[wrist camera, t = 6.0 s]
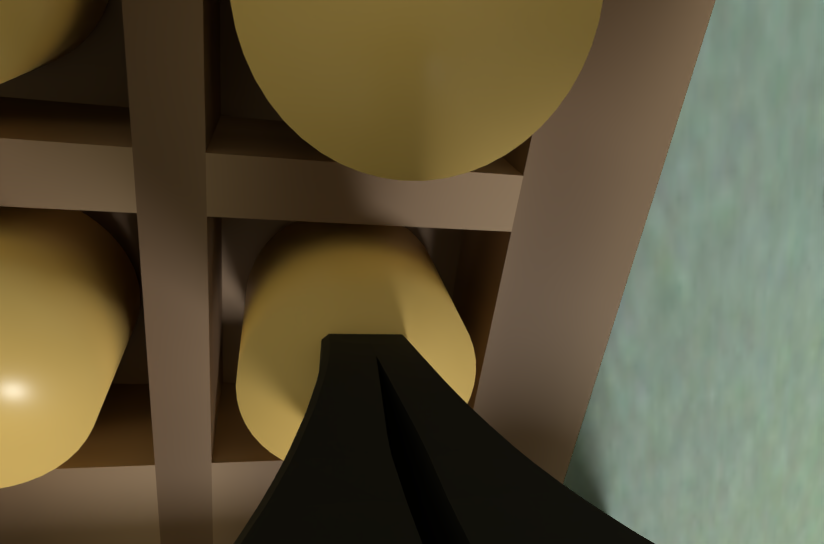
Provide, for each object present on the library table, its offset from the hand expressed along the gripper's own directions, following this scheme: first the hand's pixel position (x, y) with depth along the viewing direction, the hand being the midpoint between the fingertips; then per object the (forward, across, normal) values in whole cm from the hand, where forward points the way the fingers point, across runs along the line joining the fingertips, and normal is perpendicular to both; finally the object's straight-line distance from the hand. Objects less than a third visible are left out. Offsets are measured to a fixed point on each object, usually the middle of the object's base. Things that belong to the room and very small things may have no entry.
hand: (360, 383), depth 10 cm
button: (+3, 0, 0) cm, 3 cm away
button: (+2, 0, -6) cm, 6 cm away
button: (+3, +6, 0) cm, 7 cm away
